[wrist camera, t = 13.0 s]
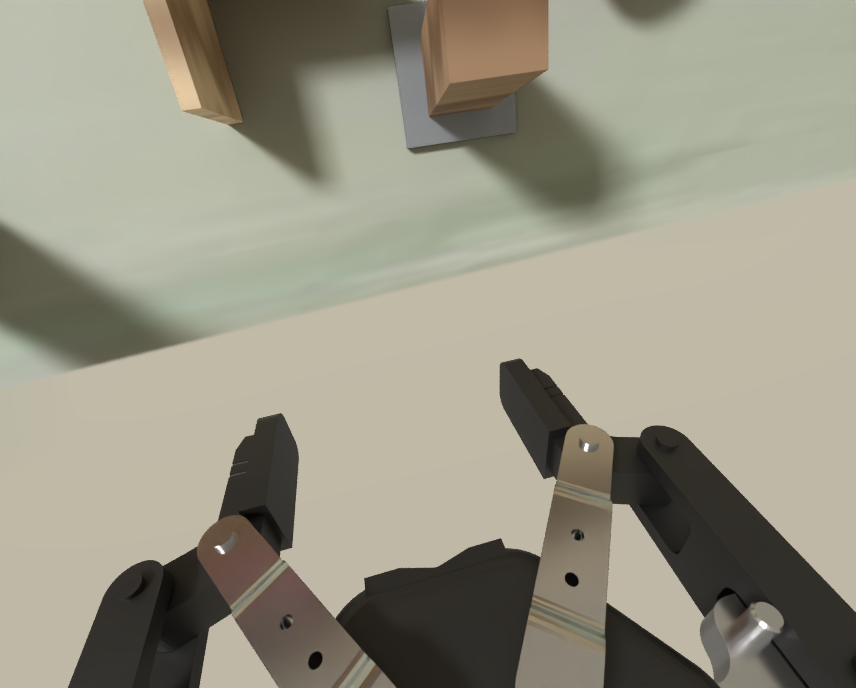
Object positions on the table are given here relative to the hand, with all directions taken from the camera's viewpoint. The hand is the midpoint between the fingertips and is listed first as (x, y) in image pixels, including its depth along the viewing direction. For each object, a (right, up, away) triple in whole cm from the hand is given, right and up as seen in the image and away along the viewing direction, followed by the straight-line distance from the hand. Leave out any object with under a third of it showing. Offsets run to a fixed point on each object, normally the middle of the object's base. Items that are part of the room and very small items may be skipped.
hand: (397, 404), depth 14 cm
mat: (+3, +23, +15) cm, 28 cm away
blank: (+3, +23, +15) cm, 27 cm away
